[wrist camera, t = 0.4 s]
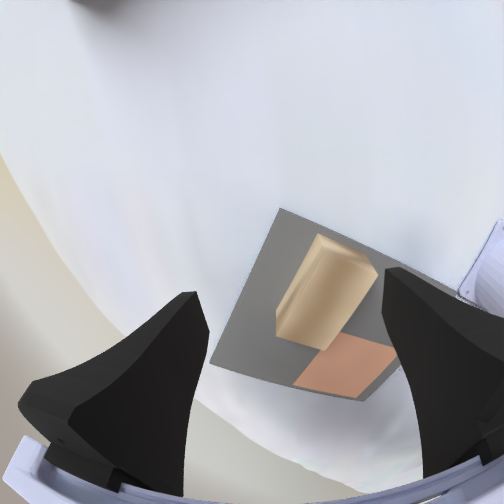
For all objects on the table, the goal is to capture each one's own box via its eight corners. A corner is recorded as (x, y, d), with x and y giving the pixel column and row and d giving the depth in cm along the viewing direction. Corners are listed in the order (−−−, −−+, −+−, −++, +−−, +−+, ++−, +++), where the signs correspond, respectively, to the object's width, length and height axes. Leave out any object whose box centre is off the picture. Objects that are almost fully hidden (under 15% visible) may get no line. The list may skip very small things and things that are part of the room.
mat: (455, 290, 20) (457, 293, 20) (362, 398, 27) (363, 401, 27) (279, 207, 18) (280, 209, 18) (210, 360, 25) (209, 363, 25)
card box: (365, 254, 19) (378, 275, 16) (320, 325, 22) (324, 350, 19) (317, 233, 19) (324, 252, 16) (275, 310, 22) (275, 336, 19)
